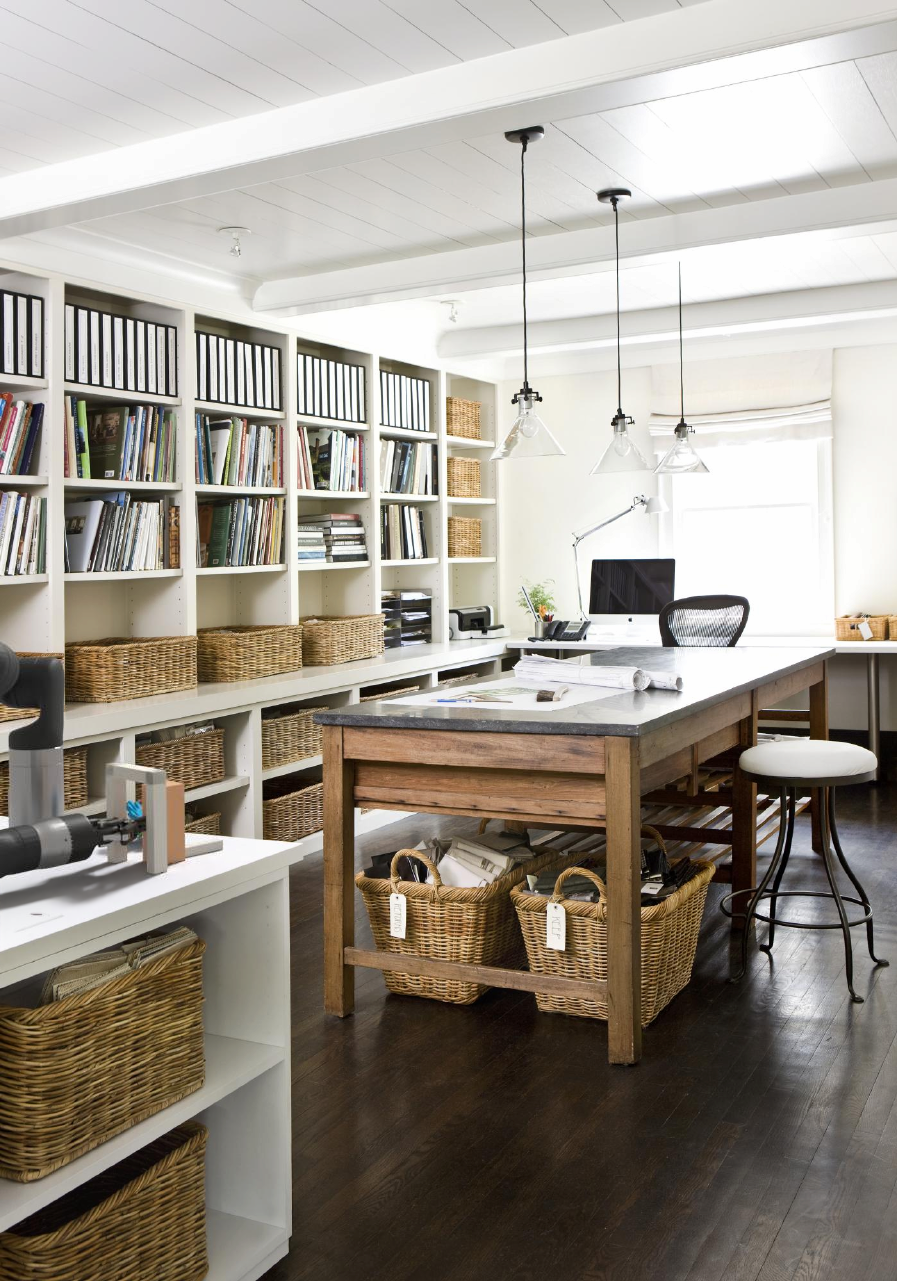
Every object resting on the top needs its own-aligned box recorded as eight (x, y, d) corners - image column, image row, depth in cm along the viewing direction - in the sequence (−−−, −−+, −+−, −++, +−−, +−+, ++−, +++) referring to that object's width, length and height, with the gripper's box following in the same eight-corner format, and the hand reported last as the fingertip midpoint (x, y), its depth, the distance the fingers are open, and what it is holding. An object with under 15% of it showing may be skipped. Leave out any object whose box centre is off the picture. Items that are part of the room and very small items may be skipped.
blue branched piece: (161, 840, 200) (122, 799, 202) (136, 864, 200) (98, 823, 201) (180, 835, 211) (143, 795, 213) (157, 857, 211) (120, 818, 212)
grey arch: (107, 861, 193) (105, 763, 192) (120, 858, 195) (118, 761, 194) (154, 874, 184) (153, 772, 183) (167, 871, 186) (166, 770, 185)
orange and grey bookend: (142, 860, 193) (141, 784, 192) (211, 846, 203) (210, 773, 203) (159, 865, 190) (158, 787, 189) (228, 850, 200) (227, 776, 199)
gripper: (79, 823, 173) (174, 805, 187) (32, 812, 182) (126, 795, 195) (80, 872, 174) (175, 850, 187) (34, 858, 182) (127, 838, 196)
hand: (150, 822), depth 191 cm, fingers closed
